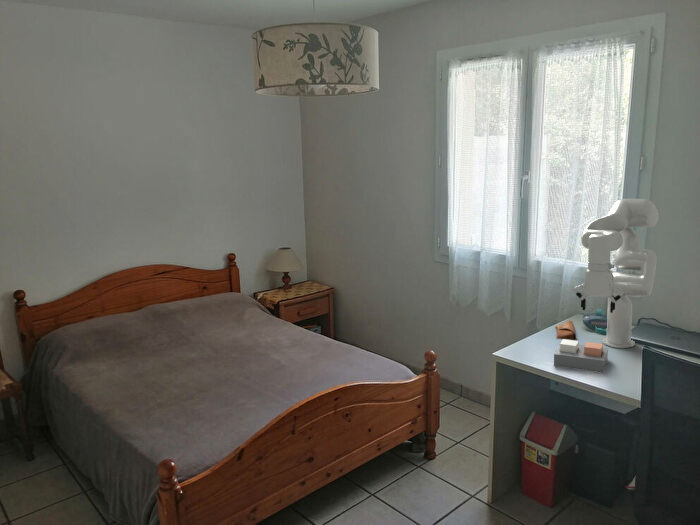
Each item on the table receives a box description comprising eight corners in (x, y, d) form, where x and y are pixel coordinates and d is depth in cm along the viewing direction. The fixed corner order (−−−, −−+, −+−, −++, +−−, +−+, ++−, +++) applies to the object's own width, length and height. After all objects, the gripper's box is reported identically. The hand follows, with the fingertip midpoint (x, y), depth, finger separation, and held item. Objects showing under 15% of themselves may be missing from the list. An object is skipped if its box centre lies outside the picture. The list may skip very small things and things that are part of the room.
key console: (560, 353, 226) (560, 342, 225) (607, 359, 217) (608, 348, 216) (553, 365, 215) (554, 353, 214) (603, 372, 205) (603, 360, 204)
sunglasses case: (554, 325, 260) (561, 314, 257) (567, 333, 259) (575, 322, 256) (556, 338, 243) (564, 327, 241) (570, 347, 242) (578, 335, 240)
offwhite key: (562, 347, 221) (562, 339, 221) (578, 349, 218) (578, 340, 218) (559, 352, 216) (560, 343, 216) (575, 354, 213) (576, 345, 213)
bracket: (596, 322, 262) (596, 306, 260) (611, 323, 259) (612, 307, 257) (595, 334, 246) (595, 318, 245) (611, 335, 243) (612, 319, 242)
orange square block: (586, 350, 217) (586, 341, 216) (602, 352, 214) (602, 343, 213) (584, 355, 212) (584, 346, 211) (600, 357, 209) (601, 349, 208)
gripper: (625, 265, 200) (623, 309, 204) (575, 263, 209) (574, 305, 213) (624, 270, 194) (622, 315, 198) (572, 268, 203) (571, 311, 206)
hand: (597, 310), depth 205 cm, fingers open, 9 cm apart
